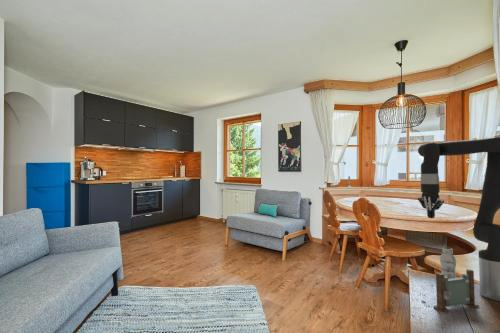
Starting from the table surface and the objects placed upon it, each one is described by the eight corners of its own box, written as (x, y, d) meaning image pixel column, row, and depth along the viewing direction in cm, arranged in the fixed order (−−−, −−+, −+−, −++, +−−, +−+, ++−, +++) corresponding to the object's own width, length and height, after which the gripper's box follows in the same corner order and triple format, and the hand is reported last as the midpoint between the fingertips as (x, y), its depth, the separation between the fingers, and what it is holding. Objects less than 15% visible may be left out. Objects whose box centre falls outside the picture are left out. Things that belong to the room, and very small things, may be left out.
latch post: (442, 306, 107) (441, 271, 107) (451, 312, 103) (450, 275, 103) (433, 308, 106) (432, 272, 106) (443, 313, 102) (441, 276, 102)
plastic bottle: (461, 293, 118) (459, 250, 119) (444, 292, 120) (443, 250, 120) (453, 287, 125) (451, 246, 125) (437, 286, 126) (436, 246, 127)
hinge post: (470, 302, 110) (468, 268, 110) (479, 307, 106) (477, 271, 107) (463, 303, 109) (462, 269, 109) (472, 308, 106) (470, 272, 106)
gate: (465, 301, 108) (464, 273, 108) (469, 303, 106) (468, 275, 107) (442, 304, 106) (441, 276, 106) (446, 307, 104) (445, 277, 104)
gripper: (449, 183, 118) (450, 219, 118) (424, 182, 131) (425, 215, 131) (435, 183, 117) (437, 220, 117) (412, 182, 130) (413, 216, 130)
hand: (431, 217), depth 124 cm, fingers closed
